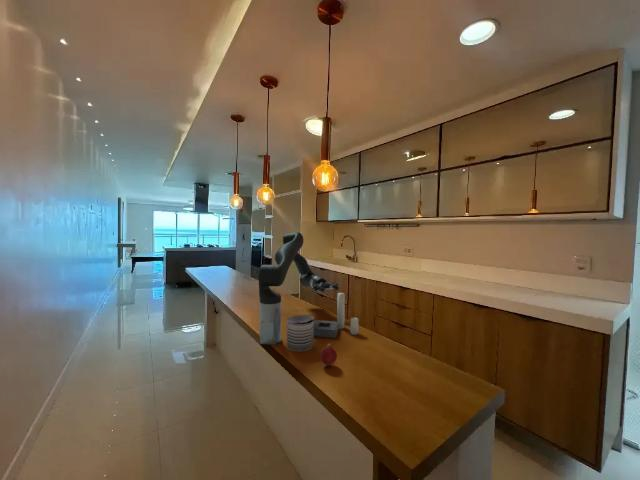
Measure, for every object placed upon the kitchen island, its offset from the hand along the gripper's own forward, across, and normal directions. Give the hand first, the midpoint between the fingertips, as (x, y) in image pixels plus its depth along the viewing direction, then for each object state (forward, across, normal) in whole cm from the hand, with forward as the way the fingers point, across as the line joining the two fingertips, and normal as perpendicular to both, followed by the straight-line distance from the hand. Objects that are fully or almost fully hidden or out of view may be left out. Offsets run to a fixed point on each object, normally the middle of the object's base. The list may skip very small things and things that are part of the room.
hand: (330, 289), depth 148 cm
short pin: (+21, +2, +17) cm, 27 cm away
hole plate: (+14, -11, +17) cm, 24 cm away
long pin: (+12, 0, +17) cm, 20 cm away
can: (+24, -27, +17) cm, 39 cm away
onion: (+44, -24, +16) cm, 53 cm away
